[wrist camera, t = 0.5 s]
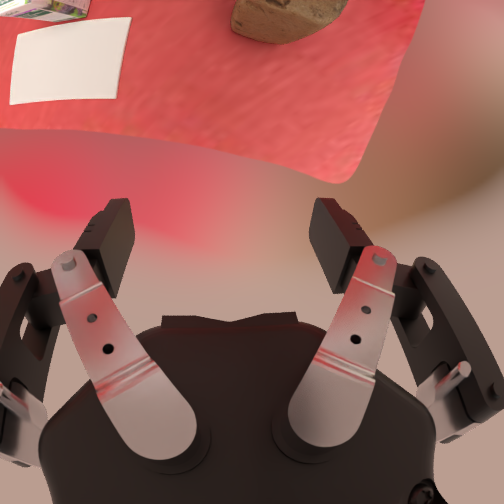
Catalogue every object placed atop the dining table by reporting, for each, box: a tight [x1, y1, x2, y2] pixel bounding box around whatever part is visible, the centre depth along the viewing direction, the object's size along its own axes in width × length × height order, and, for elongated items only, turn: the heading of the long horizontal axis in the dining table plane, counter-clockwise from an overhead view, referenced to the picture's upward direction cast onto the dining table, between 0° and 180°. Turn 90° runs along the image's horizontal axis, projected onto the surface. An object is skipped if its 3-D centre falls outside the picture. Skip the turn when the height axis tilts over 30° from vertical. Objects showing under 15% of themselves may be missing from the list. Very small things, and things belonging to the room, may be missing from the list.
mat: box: [10, 17, 132, 105], centre depth 24 cm, size 12×20×1 cm, turn 76°
